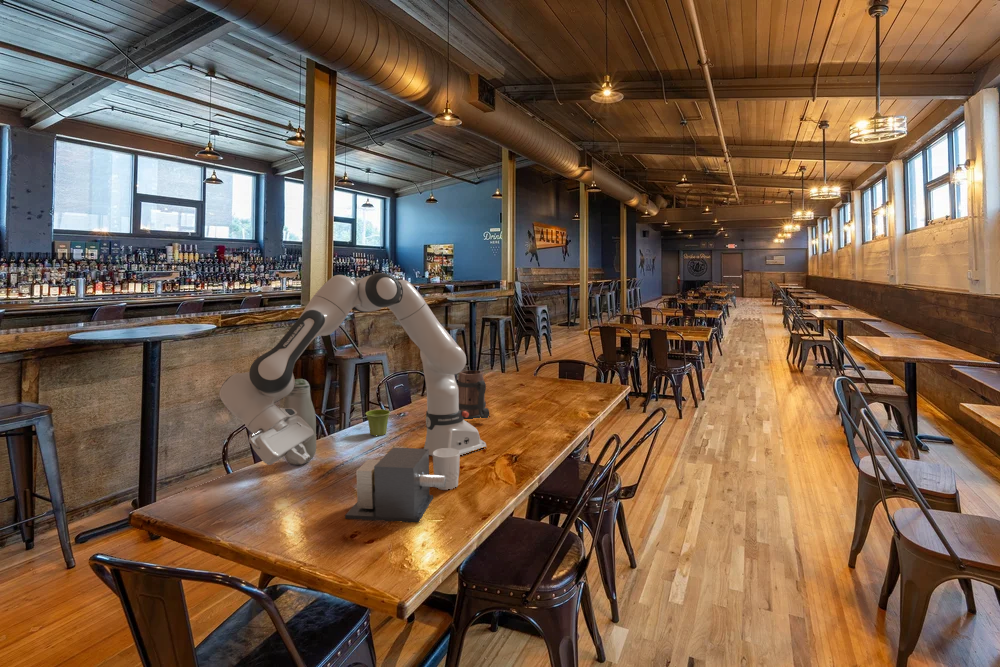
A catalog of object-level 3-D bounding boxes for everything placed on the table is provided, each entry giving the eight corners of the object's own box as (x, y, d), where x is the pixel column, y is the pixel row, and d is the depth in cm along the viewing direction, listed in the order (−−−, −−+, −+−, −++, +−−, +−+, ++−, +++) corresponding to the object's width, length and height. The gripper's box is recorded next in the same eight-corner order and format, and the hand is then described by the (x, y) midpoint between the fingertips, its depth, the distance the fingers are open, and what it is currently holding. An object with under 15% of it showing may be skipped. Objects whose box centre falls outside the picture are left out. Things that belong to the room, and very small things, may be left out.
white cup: (433, 480, 148) (433, 448, 147) (460, 479, 148) (459, 447, 147) (432, 491, 140) (431, 457, 139) (460, 490, 141) (459, 456, 140)
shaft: (357, 508, 127) (356, 470, 126) (369, 494, 135) (368, 459, 134) (441, 512, 124) (440, 474, 123) (448, 498, 132) (447, 462, 131)
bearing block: (345, 518, 124) (343, 465, 123) (366, 495, 138) (365, 446, 136) (418, 522, 122) (417, 468, 120) (433, 498, 136) (432, 449, 134)
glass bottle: (298, 470, 156) (294, 383, 153) (277, 464, 161) (273, 380, 158) (323, 460, 165) (320, 378, 162) (302, 455, 170) (299, 375, 167)
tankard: (446, 414, 222) (445, 370, 220) (479, 409, 230) (479, 367, 228) (468, 427, 202) (468, 379, 200) (504, 421, 210) (504, 375, 208)
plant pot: (394, 431, 197) (394, 410, 196) (384, 438, 188) (383, 416, 187) (373, 429, 199) (372, 408, 198) (361, 436, 190) (360, 414, 189)
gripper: (253, 428, 121) (292, 467, 121) (296, 406, 141) (330, 440, 141) (237, 445, 122) (276, 484, 122) (283, 421, 142) (316, 455, 142)
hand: (306, 460), depth 132 cm, fingers closed
